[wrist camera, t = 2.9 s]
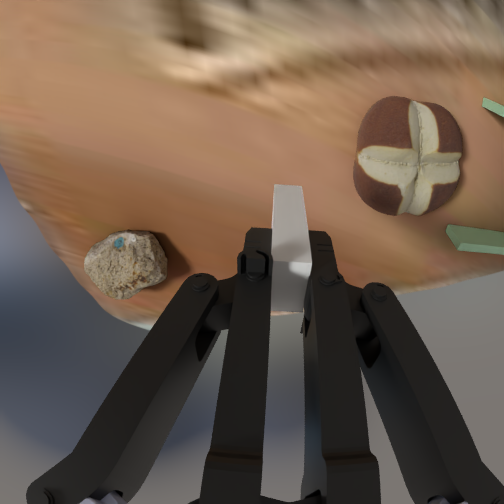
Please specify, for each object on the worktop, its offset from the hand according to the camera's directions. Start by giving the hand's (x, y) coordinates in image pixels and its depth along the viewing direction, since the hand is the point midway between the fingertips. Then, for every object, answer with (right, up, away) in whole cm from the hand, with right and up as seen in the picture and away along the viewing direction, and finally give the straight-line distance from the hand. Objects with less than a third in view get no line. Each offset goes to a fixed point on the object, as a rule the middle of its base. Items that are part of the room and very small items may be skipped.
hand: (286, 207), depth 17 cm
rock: (-17, -3, +19) cm, 25 cm away
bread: (+13, +7, +8) cm, 17 cm away
